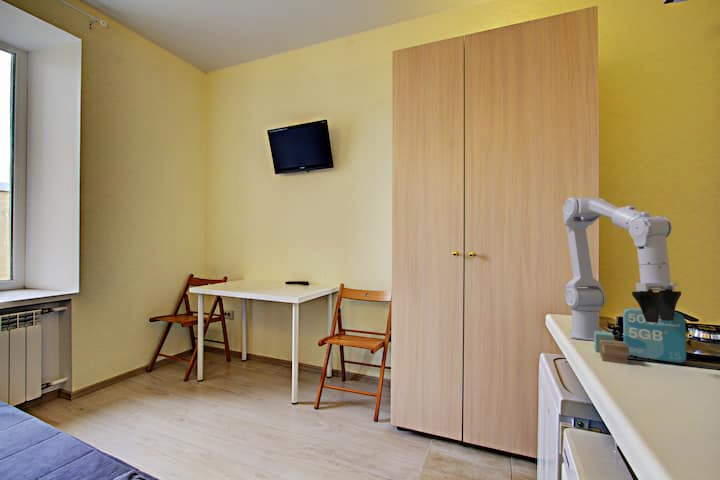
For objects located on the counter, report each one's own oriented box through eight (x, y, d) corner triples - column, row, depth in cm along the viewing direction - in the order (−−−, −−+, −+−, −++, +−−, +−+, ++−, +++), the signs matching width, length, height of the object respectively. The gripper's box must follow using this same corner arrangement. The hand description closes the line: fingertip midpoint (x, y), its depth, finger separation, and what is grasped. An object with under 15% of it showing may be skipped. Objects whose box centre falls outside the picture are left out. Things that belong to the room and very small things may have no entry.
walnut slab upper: (599, 348, 92) (599, 339, 92) (622, 350, 90) (622, 341, 90) (604, 353, 88) (604, 344, 88) (628, 356, 86) (628, 346, 86)
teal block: (594, 348, 99) (594, 330, 99) (611, 350, 97) (611, 332, 97) (596, 352, 95) (595, 333, 95) (614, 354, 93) (613, 335, 94)
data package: (624, 355, 91) (623, 308, 92) (623, 352, 95) (622, 307, 96) (686, 364, 84) (685, 313, 86) (683, 360, 88) (681, 312, 89)
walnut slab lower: (600, 356, 92) (600, 348, 92) (624, 360, 90) (623, 350, 90) (602, 362, 88) (602, 353, 88) (627, 365, 86) (627, 356, 86)
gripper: (659, 263, 79) (665, 324, 78) (687, 264, 86) (694, 321, 84) (623, 264, 85) (629, 321, 84) (653, 266, 92) (658, 318, 91)
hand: (659, 321), depth 84 cm, fingers open, 7 cm apart
